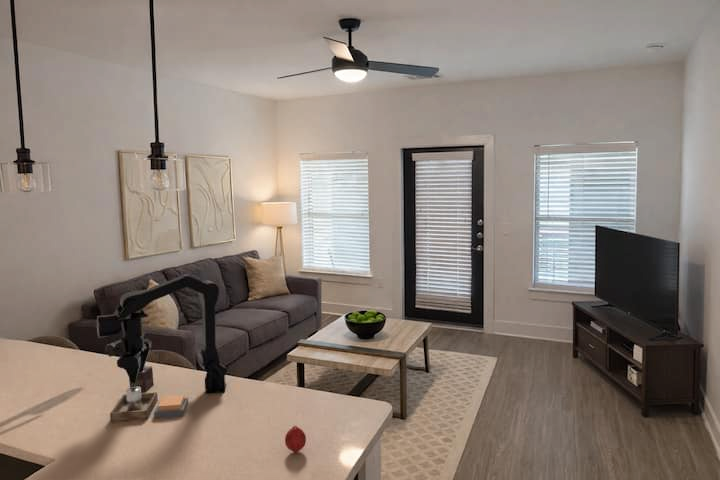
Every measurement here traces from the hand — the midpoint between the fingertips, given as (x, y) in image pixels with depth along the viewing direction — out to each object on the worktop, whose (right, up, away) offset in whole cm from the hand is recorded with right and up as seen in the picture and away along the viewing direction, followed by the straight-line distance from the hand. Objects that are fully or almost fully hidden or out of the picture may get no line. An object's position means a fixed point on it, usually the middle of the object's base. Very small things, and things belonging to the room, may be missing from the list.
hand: (137, 377), depth 169 cm
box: (-6, -9, +17) cm, 20 cm away
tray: (0, -11, 0) cm, 11 cm away
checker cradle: (+12, -11, 0) cm, 16 cm away
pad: (+12, -9, -1) cm, 15 cm away
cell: (-1, -11, 0) cm, 11 cm away
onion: (+56, -14, -26) cm, 63 cm away
